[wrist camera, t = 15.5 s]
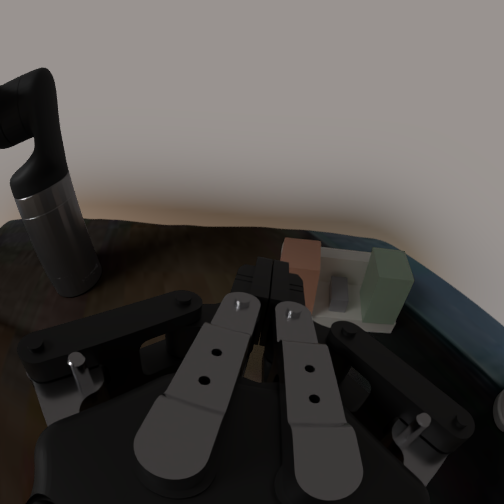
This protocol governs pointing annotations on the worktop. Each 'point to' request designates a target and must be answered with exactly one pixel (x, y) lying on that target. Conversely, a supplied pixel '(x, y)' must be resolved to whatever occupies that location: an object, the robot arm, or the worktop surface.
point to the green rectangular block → (385, 286)
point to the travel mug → (499, 411)
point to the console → (342, 289)
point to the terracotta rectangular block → (304, 264)
